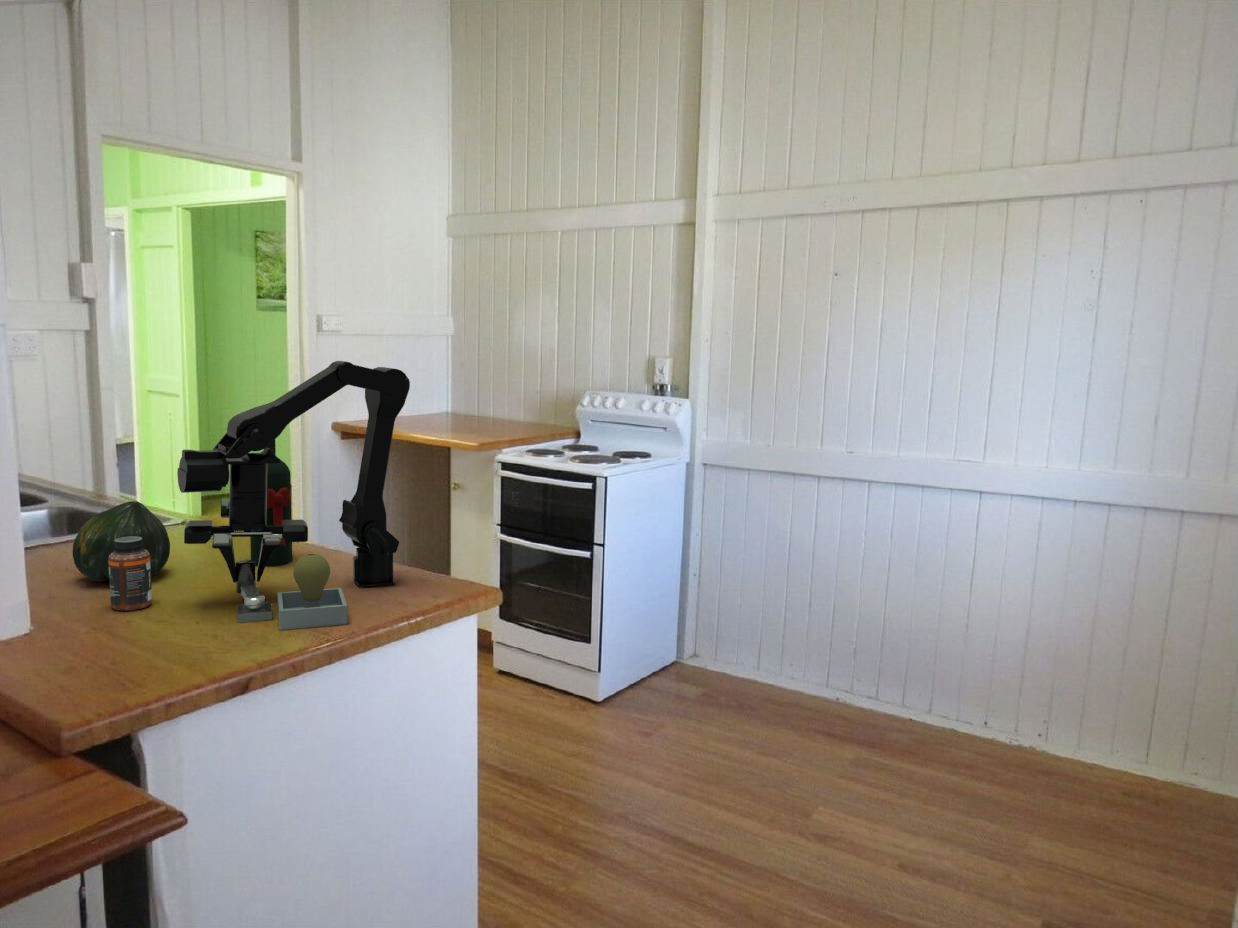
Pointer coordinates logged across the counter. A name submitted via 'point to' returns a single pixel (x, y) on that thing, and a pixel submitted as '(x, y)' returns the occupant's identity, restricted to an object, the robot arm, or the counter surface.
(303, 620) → the tray
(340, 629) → the counter surface
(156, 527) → the squash
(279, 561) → the wine bottle
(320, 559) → the light bulb
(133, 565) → the supplement bottle
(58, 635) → the counter surface
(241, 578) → the crank
